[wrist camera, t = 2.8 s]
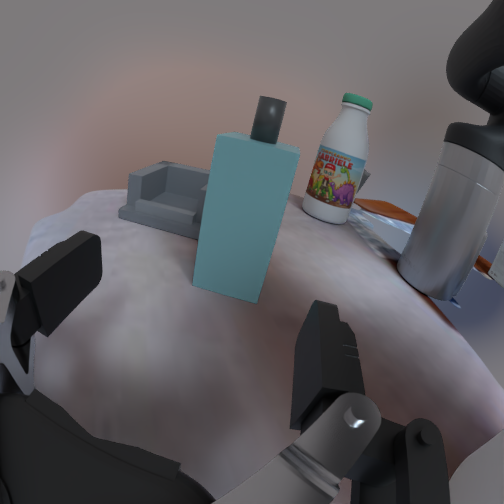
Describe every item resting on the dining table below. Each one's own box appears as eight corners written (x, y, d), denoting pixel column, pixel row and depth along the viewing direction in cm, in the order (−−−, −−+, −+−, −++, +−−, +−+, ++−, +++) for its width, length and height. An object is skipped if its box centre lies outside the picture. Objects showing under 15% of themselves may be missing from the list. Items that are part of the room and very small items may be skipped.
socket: (204, 241, 27) (211, 197, 25) (118, 217, 27) (120, 177, 25) (228, 209, 36) (235, 176, 34) (159, 192, 36) (163, 160, 34)
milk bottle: (306, 202, 48) (337, 94, 38) (347, 217, 46) (381, 109, 36) (295, 212, 41) (331, 84, 32) (343, 230, 39) (384, 101, 30)
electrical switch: (337, 193, 61) (352, 158, 57) (357, 204, 60) (373, 168, 55) (328, 199, 54) (345, 158, 49) (350, 211, 52) (369, 170, 48)
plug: (256, 303, 20) (313, 106, 14) (192, 285, 20) (228, 87, 14) (264, 270, 25) (308, 110, 18) (210, 255, 25) (243, 95, 18)
